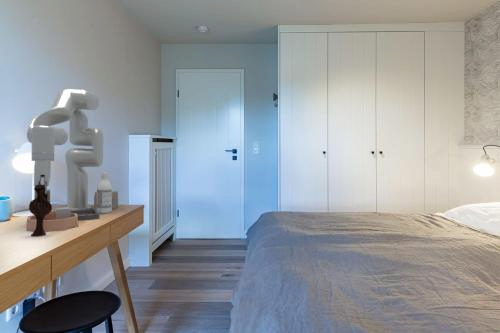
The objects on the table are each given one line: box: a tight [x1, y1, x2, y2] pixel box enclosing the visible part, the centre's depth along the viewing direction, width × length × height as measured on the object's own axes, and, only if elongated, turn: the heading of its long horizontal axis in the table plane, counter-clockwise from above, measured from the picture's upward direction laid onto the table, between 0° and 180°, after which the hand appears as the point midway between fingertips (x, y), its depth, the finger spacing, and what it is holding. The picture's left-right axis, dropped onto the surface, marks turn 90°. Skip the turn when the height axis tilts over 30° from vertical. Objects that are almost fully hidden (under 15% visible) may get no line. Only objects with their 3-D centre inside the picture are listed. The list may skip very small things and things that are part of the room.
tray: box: [50, 208, 100, 221], centre depth 146 cm, size 15×20×2 cm
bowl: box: [26, 213, 79, 233], centre depth 129 cm, size 17×17×4 cm
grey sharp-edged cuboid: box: [55, 206, 71, 220], centre depth 131 cm, size 4×5×6 cm
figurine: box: [28, 184, 53, 237], centre depth 115 cm, size 7×5×18 cm
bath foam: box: [96, 171, 113, 214], centre depth 161 cm, size 7×7×20 cm
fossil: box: [93, 190, 119, 211], centre depth 169 cm, size 12×4×10 cm, turn 147°
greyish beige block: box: [34, 189, 51, 203], centre depth 127 cm, size 4×5×6 cm
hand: (42, 203), depth 127 cm, fingers closed on greyish beige block, 4 cm apart
